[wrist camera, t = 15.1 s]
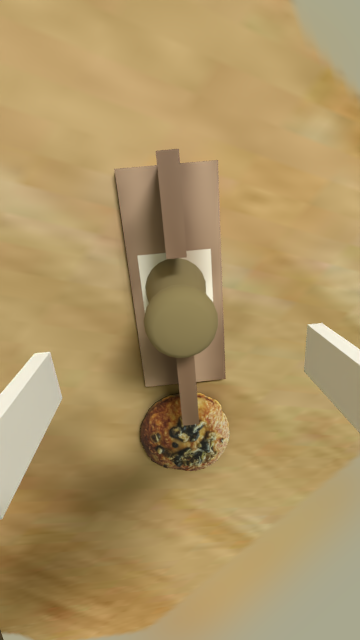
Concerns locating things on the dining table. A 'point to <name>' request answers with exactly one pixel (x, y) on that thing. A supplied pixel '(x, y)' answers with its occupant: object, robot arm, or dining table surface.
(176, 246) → the notched board
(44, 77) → the dining table surface
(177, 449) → the bread roll
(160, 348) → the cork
